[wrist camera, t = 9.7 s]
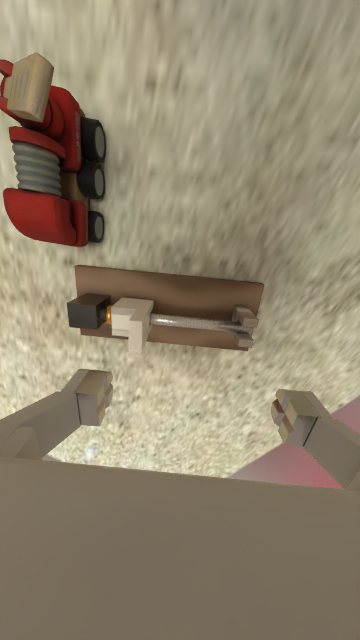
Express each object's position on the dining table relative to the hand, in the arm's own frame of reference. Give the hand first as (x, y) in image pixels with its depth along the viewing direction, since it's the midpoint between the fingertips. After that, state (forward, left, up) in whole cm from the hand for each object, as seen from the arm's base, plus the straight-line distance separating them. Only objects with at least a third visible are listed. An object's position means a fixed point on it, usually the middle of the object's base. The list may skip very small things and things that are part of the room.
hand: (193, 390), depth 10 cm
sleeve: (+4, -8, -23) cm, 24 cm away
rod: (+4, -3, -24) cm, 25 cm away
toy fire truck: (-13, -16, -26) cm, 33 cm away
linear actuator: (+4, -3, -26) cm, 26 cm away
